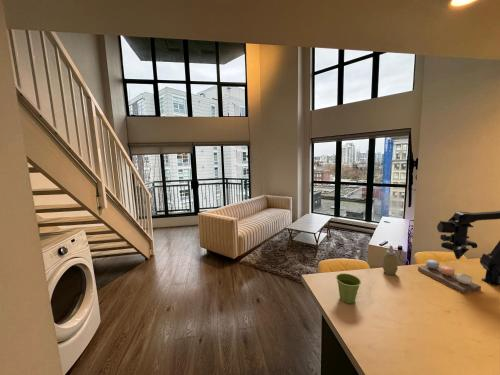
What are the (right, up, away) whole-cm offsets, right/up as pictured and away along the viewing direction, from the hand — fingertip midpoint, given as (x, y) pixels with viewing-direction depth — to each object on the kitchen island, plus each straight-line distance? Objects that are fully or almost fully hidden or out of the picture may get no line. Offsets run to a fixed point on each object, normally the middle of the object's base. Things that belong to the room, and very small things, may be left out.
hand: (457, 258), depth 126 cm
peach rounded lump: (-6, -11, 0) cm, 13 cm away
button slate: (-8, -10, +8) cm, 15 cm away
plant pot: (-73, -16, -15) cm, 76 cm away
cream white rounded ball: (-5, -12, -8) cm, 16 cm away
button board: (-6, -12, 0) cm, 14 cm away
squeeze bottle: (-35, -12, +9) cm, 38 cm away
